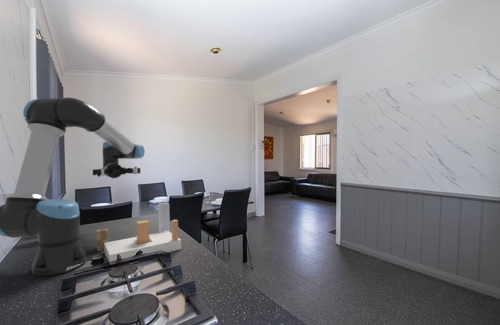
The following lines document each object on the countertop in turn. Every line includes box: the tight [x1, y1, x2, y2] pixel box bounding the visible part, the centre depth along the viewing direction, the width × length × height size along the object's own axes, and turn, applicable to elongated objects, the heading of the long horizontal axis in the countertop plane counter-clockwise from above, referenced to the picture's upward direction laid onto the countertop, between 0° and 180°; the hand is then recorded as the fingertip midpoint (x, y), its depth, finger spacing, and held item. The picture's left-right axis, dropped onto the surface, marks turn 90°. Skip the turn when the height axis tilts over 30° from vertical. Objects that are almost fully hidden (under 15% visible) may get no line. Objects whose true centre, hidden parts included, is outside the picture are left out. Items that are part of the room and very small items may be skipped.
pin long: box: [158, 202, 171, 233], centre depth 120 cm, size 4×4×16 cm
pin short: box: [95, 227, 110, 252], centre depth 104 cm, size 4×4×8 cm
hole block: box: [103, 219, 182, 261], centre depth 101 cm, size 26×16×12 cm, turn 127°
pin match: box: [135, 220, 150, 245], centre depth 101 cm, size 4×4×12 cm
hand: (120, 172), depth 112 cm, fingers open, 13 cm apart
